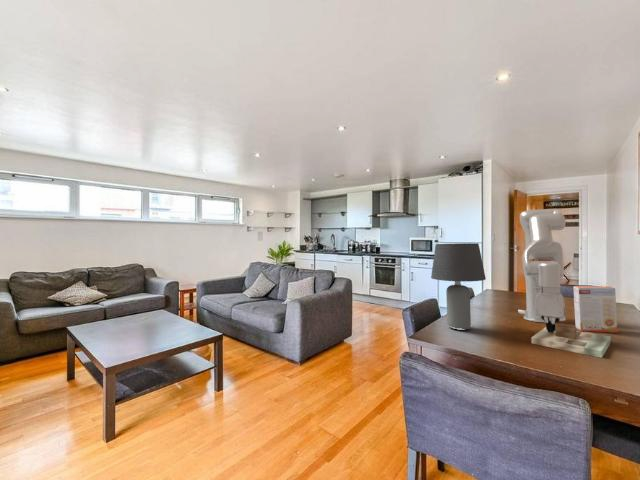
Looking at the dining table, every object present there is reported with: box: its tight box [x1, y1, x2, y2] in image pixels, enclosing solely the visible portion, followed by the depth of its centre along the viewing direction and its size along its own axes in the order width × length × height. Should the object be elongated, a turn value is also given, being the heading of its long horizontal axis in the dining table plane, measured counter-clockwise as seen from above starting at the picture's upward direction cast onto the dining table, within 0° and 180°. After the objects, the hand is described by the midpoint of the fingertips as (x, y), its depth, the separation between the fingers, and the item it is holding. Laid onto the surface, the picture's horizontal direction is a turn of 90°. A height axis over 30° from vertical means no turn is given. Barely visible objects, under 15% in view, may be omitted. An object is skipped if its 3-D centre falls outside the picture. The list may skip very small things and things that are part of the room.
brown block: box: [555, 324, 578, 339], centre depth 128 cm, size 6×6×4 cm
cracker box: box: [573, 285, 618, 334], centre depth 142 cm, size 14×6×21 cm, turn 71°
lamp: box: [430, 242, 487, 330], centre depth 151 cm, size 25×25×43 cm
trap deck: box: [530, 326, 612, 359], centre depth 127 cm, size 22×24×2 cm
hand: (550, 331), depth 132 cm, fingers closed
